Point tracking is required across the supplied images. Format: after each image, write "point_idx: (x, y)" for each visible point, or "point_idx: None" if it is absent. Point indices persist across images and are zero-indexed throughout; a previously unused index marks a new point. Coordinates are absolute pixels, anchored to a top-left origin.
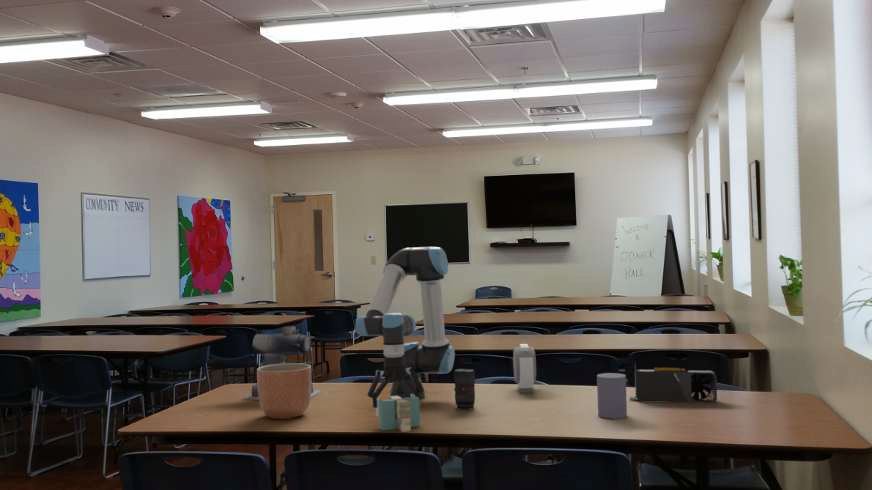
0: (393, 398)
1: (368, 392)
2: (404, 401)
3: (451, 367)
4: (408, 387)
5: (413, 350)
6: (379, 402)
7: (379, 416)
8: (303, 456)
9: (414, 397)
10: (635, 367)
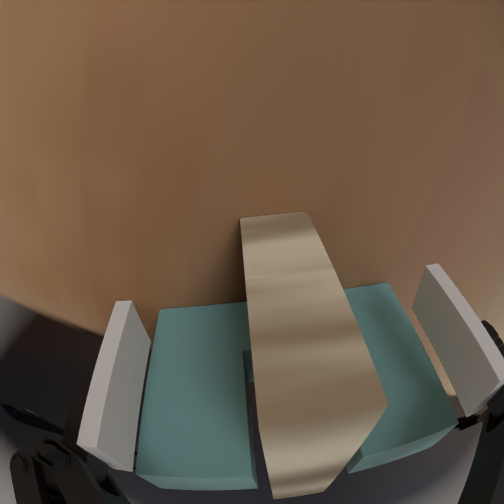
0: (273, 469)
1: (18, 487)
2: (307, 489)
3: None
4: (484, 472)
5: None
6: (140, 463)
7: (147, 344)
8: (23, 420)
9: (427, 441)
10: None
